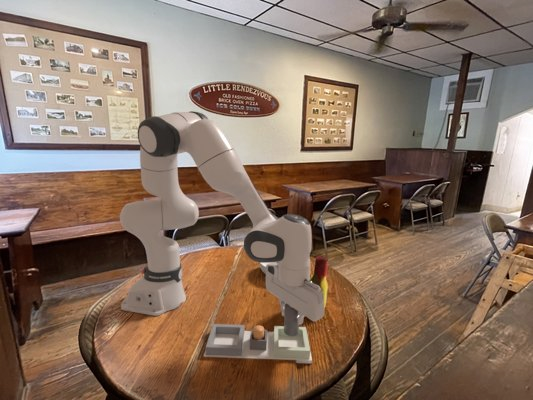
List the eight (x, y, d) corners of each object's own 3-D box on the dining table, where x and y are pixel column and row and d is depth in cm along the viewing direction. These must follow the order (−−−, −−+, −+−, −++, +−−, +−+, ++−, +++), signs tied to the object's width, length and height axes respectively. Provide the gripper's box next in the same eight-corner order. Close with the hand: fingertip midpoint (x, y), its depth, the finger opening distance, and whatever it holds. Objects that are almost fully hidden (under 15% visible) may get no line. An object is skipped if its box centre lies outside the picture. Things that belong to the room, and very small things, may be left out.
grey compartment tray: (203, 359, 74) (202, 347, 73) (212, 332, 85) (211, 321, 84) (311, 363, 74) (312, 351, 73) (306, 335, 84) (307, 324, 84)
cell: (286, 337, 75) (287, 309, 73) (281, 327, 79) (282, 300, 77) (301, 335, 76) (302, 307, 74) (295, 325, 80) (297, 299, 78)
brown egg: (252, 343, 77) (252, 332, 76) (253, 335, 80) (253, 325, 80) (263, 343, 77) (264, 332, 76) (264, 336, 80) (264, 325, 80)
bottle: (329, 315, 94) (333, 263, 90) (310, 315, 95) (314, 262, 91) (323, 297, 106) (326, 249, 102) (306, 296, 106) (309, 249, 102)
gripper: (331, 284, 68) (328, 332, 71) (278, 258, 84) (277, 298, 86) (314, 292, 64) (311, 343, 67) (262, 263, 80) (261, 305, 82)
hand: (291, 317), depth 77 cm, fingers closed on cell, 4 cm apart
